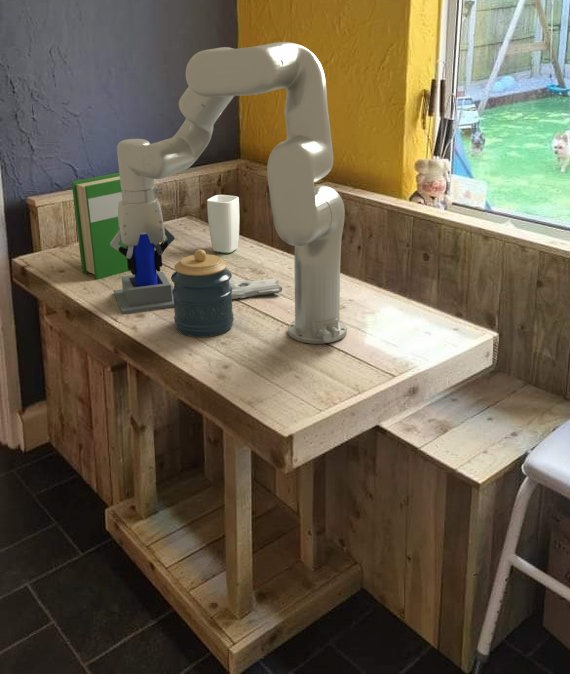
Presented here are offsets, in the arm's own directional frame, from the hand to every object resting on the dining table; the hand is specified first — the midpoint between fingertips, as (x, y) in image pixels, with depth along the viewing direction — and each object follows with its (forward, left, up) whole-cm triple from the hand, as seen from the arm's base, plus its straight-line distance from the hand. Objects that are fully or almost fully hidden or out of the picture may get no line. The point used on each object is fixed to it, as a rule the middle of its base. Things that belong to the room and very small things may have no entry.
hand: (145, 270), depth 195 cm
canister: (-20, -9, -8) cm, 24 cm away
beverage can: (0, 0, -5) cm, 5 cm away
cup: (+30, -27, -8) cm, 41 cm away
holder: (0, 0, -7) cm, 7 cm away
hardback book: (+26, +3, -8) cm, 27 cm away
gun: (-3, -22, -8) cm, 24 cm away
